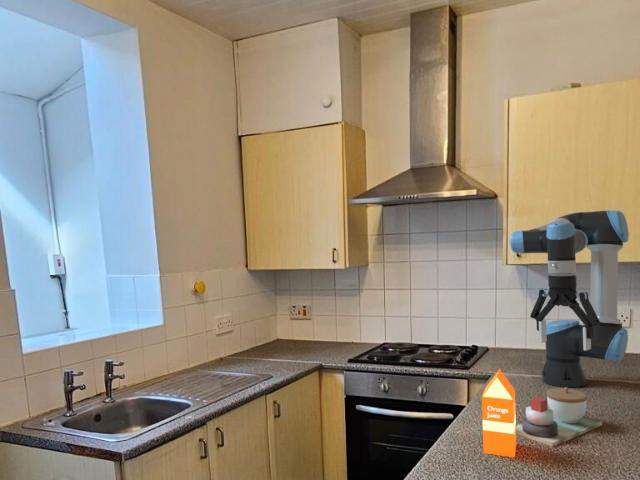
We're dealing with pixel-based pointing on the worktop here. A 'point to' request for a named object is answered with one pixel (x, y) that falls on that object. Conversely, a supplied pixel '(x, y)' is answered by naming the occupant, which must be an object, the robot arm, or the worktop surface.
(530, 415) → the dome
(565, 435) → the game board
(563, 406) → the lidded jar
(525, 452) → the worktop surface
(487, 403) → the orange juice
